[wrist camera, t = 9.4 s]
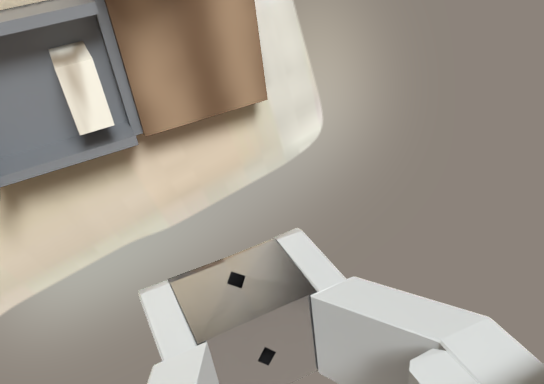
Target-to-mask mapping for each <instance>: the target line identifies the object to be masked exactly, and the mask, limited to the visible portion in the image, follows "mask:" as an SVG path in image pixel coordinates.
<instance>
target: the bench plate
mask: <svg viewBox="0 0 544 384" xmlns="http://www.w3.org/2000/svg"><path fill="white" fill-rule="evenodd" d="M104 1H105V5H106V8H107V11H108V15H109V18H110V22H111V25H112V28H113V32H114V35H115V39H116V42H117V46H118V49H119V52H120V56H121V59H122V63H123V66H124V69H125V73H126V76H127V80H128V83H129V86H130V90H131V93H132V97H133V100H134V104H135V107H136V110H137V114H138V117H139V121H140V124H141V127H142V131H143V134H144V135H145V137H147V136H150V135H153V134H156V133H160V132H163V131H166V130H169V129H173V128H176V127H179V126H183V125H186V124H189V123H192V122H196V121H199V120H202V119H205V118H209V117H212V116H215V115H219V114H222V113H225V112H228V111H232V110H235V109H238V108H241V107H245V106H248V105H251V104H255V103H258V102H261V101H264V100H268V99H267V92H266V84H265V77H264V69H263V62H262V54H261V47H260V39H259V32H258V24H257V17H256V9H255V2H254V0H104Z"/></svg>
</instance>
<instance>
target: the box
mask: <svg viewBox="0 0 544 384" xmlns="http://www.w3.org/2000/svg"><path fill="white" fill-rule="evenodd" d="M80 41H83V42H84V44H85V46H86V48H87V50H88V51H89V53H90V55H91V57H92V58H93V61H94V64H95V67H96V70H97V73H98V76H99V79H100V82H101V85H102V88H103V91H104V94H105V97H106V100H107V103H108V106H109V109H110V112H111V115H112V118H113V121H114V126H110V127H107V128H104V129H100V130H97V131H94V132H90V133H87V134H84V135H80V134H79V132H78V129H77V126H76V124H75V121H74V118H73V116H72V113H71V111H70V108H69V105H68V103H67V100H66V97H65V95H64V92H63V89H62V87H61V84H60V82H59V79H58V76H57V74H56V71H55V68H54V65H53V62H52V59H51V56H50V53H49V50H48V49H51V48H55V47H59V46H63V45H67V44H72V43H76V42H80ZM142 133H143V131H142V127H141V124H140V121H139V117H138V114H137V110H136V107H135V104H134V100H133V97H132V93H131V90H130V86H129V83H128V80H127V76H126V73H125V69H124V66H123V63H122V59H121V56H120V52H119V49H118V46H117V42H116V39H115V35H114V32H113V28H112V25H111V22H110V18H109V15H108V11H107V8H106V5H105V1H104V0H47V1H42V2H38V3H33V4H28V5H23V6H19V7H14V8H9V9H5V10H0V187H3V186H6V185H10V184H13V183H16V182H19V181H23V180H26V179H29V178H32V177H36V176H39V175H42V174H45V173H49V172H52V171H55V170H58V169H61V168H65V167H68V166H71V165H74V164H78V163H81V162H84V161H87V160H91V159H94V158H97V157H100V156H104V155H107V154H110V153H113V152H117V151H120V150H123V149H126V148H129V147H133V146H136V145H138V141H137V138H136V135H139V134H142Z"/></svg>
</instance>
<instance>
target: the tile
mask: <svg viewBox="0 0 544 384" xmlns="http://www.w3.org/2000/svg"><path fill="white" fill-rule="evenodd" d="M48 50H49V53H50V56H51V59H52V62H53V65H54V68H55V71H56V74H57V76H58V79H59V82H60V84H61V87H62V89H63V92H64V95H65V97H66V100H67V103H68V105H69V108H70V111H71V113H72V116H73V118H74V121H75V124H76V126H77V129H78V132H79V134H80V135H84V134H87V133H90V132H94V131H97V130H100V129H104V128H107V127H110V126H114V121H113V118H112V115H111V112H110V109H109V106H108V103H107V100H106V97H105V94H104V91H103V88H102V85H101V82H100V79H99V76H98V73H97V70H96V67H95V64H94V61H93V58H92V57H91V55H90V53H89V51H88V50H87V48H86V46H85V44H84V42H83V41H80V42H76V43H72V44H67V45H63V46H59V47H55V48H51V49H48Z"/></svg>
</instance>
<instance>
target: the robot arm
mask: <svg viewBox="0 0 544 384" xmlns="http://www.w3.org/2000/svg"><path fill="white" fill-rule="evenodd" d="M138 293H139V298H140V301H141V304H142V306H143V309H144V312H145V314H146V318H147V320H148V323H149V326H150V329H151V332H152V334H153V337H154V340H155V343H156V346H157V348H158V351H159V354H160V357H161V360H162V362H160V363H158V364H155V365H153V368H152V370H151V373H150V376H149V378H148V382H147V384H290V383H292V382H294V381H296V380H298V379H301V378H303V377H305V376H307V375H309V374H311V373H314V372H316V371H319V373H320V374H322V375H323V376H325V377H327V378H329V379H331V380H333V381H335V382H336V383H338V384H544V364H542V363H541V362H540V361H539V360H538V359H537V358H536V357H535V356H533V355H532V354H531V353H530V352H529V351H528V350H526V349H525V348H524V347H523V346H522V345H521V344H520V343H518V342H517V341H516V340H515V339H514V338H513V337H512V336H510V335H509V334H508V333H507V332H506V331H505V330H504V329H502V328H501V327H500V326H499V325H498V324H497V323H496V322H494V321H493V320H492V319H491V318H490V317H487V316H484V315H481V314H477V313H474V312H470V311H467V310H464V309H461V308H457V307H454V306H451V305H447V304H444V303H441V302H437V301H434V300H431V299H428V298H424V297H421V296H418V295H414V294H411V293H408V292H404V291H401V290H398V289H394V288H391V287H388V286H385V285H381V284H378V283H374V282H371V281H368V280H365V279H361V278H358V277H355V276H354V277H351V278H349V279H346V278H345V277H344V276H343V275H342V274H341V273H340V271H339V270H338V269H337V268H336V267H335V266H334V265H333V264H332V263H331V262H330V260H328V258H327V257H326V256H325V255H324V254H323V253H322V252H321V251H320V250H319V248H318V247H317V246H316V245H315V244H314V243H313V242H312V241H311V240H310V239H309V237H308V236H307V235H306V234H305V233H304V232H303V231H302V230H301V229H298V228H295V229H293V230H290V231H288V232H286V233H283V234H281V235H278V236H276V237H274V238H272V239H270V240H268V241H265V242H263V243H260V244H258V245H255V246H253V247H250V248H248V249H245V250H243V251H240V252H238V253H235V254H233V255H231V256H228V257H226V258H223V259H221V260H218V261H215V262H213V263H210V264H207V265H204V266H202V267H199V268H196V269H194V270H191V271H188V272H185V273H183V274H180V275H177V276H175V277H172V278H169V279H168V281H167V280H165V281H163V282H160V283H157V284H155V285H152V286H149V287H147V288H144V289H141V290H139V291H138Z"/></svg>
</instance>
